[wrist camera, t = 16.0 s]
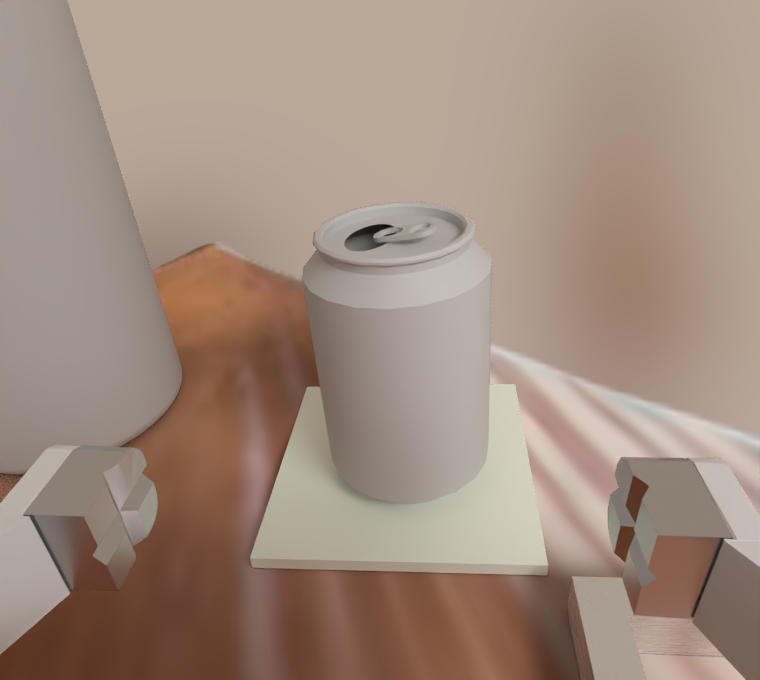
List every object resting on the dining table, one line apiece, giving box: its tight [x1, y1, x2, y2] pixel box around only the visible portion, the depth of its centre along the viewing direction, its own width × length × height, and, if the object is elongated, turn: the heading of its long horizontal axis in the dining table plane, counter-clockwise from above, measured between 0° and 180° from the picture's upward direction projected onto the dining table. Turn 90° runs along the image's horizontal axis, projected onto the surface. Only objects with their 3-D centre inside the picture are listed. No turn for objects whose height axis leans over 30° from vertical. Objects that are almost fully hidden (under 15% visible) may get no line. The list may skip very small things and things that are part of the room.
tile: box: [250, 384, 548, 575], centre depth 28 cm, size 12×12×1 cm
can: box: [302, 202, 492, 504], centre depth 25 cm, size 8×8×12 cm
